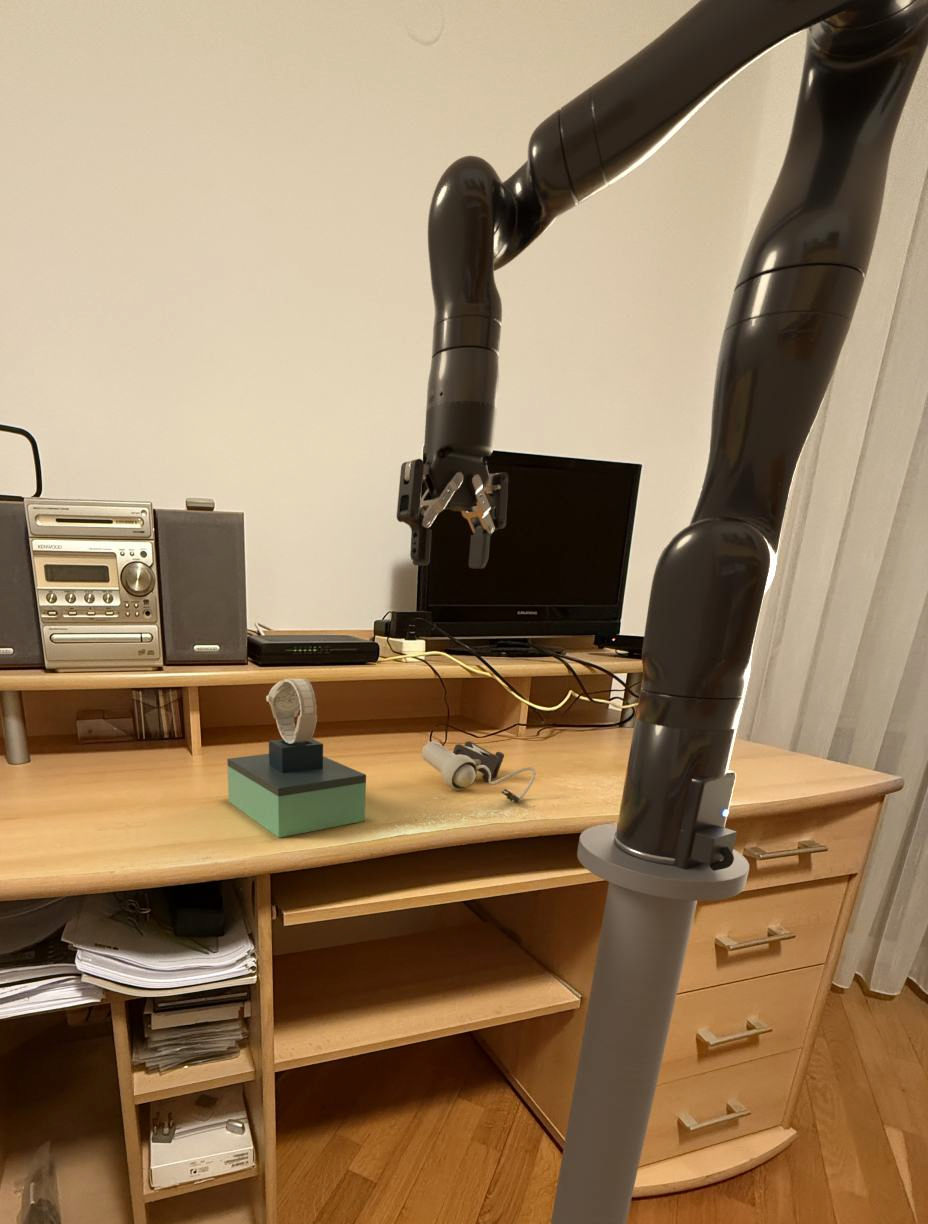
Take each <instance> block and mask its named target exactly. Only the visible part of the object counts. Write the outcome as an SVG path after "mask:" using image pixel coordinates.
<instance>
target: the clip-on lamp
mask: <svg viewBox="0 0 928 1224" xmlns="http://www.w3.org/2000/svg"><path fill="white" fill-rule="evenodd" d="M504 757H505V754H504V752H501V751H496V752H495V754H494V753H492V752H491V751H489V750H487V749H485V748H483V747H481V746H480V745H478V744H476V743H474V742H473V741H471V740H468V741H465V743H464V745H463V744H461V743H458V744H456V745H454V747H453V751H451V750H450V749H448V748H447V747H445V745H443V744H441V743H440V742H438V741H437V740H436V741H435V740H432V741H428V742H427V743H426V744H424V746H423V747H422V750H421V758H422V759H423V760H424V761H425V762H426V763H427V764H428V765H430V766H431V767H432V768H434V769H435V770H436V771H437V772H439V773H440V774H441V778H442V780H443V782H444V783H445V785H447V786H448V787H449V788H450V789H453V790H458V791H462V790H464V789H467V788H469V786H471V785H472V784H473V783H474V781H476V780H475V779H476V777H477V775H478V772H479V773H481V774H483V775H482V779H483V781H486V782H488V785H490V786H494V785H496V784H499V783H501V782H503V781H505V780H508V779H509V778H511V777H513V776H516V775H518V774H521V773H522V772H526V771H531V772H532V776H531V778H530V780H529V782H528V784H527V786H526V788H524V790H523V791H522V792H521V794H520V795H519V796H517V795H516V794H514V793H513V792H511V791H510V790H508V789H506V788H504V789H503V790H502V791H501V794H502V795H504V796H506V799H507V800H509V801H510V802H512V801H513V802H515V803H519V802H520V800H521V799H523V797H524V796H525V795H526V794H527V792H528V791H529V789H530V788H531V786H532V784H533V782H534V780H535V777H536V769H535V768H534V767H531V766H527V767H523V768H520V769H516V770H515V771H512V772H510V773H508V774H505V775H504V776H502V777H500V778H497V777H498V774H499V771H500V768H501V766H502V763H503V762H504V761H503V760H504ZM496 778H497V779H496ZM493 779H494V780H493ZM492 780H493V781H492Z"/></svg>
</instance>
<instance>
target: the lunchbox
mask: <svg viewBox="0 0 928 1224" xmlns="http://www.w3.org/2000/svg"><path fill="white" fill-rule="evenodd" d="M226 763H227V791H228V803H230V804H231V805H233V806H234V807H235V808H237V809H238V810H240V811H241V812H242V813H243V814H245V815H246V816H248V817H249V818H251V820H254V821H255V822H256V823H257V824H259V825H260V826H262V827H263V828H264V829H266V830H267V831H269V832H270V833H271V834H273V835H274V836H276V838H279V839H280V838H285V837H290V836H295V835H301V834H305V833H310V832H315V831H320V830H325V829H329V828H330V829H331V828H335V827H340V826H345V825H350V824H355V823H360V822H361V823H362V822H365V820H366V799H367V798H366V797H367V796H366V795H367V774H365V773H364V772H360V771H358V770H356V769H354V768H351V767H349V766H346V765H344V764H342V763H341V762H340V763H339V762H338V761H335V760H333V759H331V758H328V757H326V756H324V755H323V768H320V769H312V770H303V771H295V772H287V773H282V772H280V771H278V770H277V769H275V768H274V767H272V766H271V765H269V753H263V754H262V753H261V754H253V755H246V756H239V757H231V758H227V761H226Z"/></svg>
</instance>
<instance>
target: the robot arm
mask: <svg viewBox="0 0 928 1224" xmlns="http://www.w3.org/2000/svg"><path fill="white" fill-rule="evenodd" d="M805 30H806V39H805V51H804V58H803V65H802V72H801V80H800V84H799V90H798V95H797V101H796V107H795V111H794V117H793V122H792V127H791V132H790V136H789V140H788V144H787V149H786V152H785V155H784V159H783V162H782V166H781V168H780V171H779V173H778V176H777V178H776V181H775V184H774V186H773V188H772V191H771V193H770V195H769V198H768V199H767V202H766V204H765V206H764V208H763V210H762V213H761V215H760V217H759V220H758V222H757V225H756V226H755V229H754V232H753V233H752V237H751V238H750V242H749V244H748V247H747V249H746V252H745V255H744V258H743V261H742V264H741V266H740V270H739V273H738V276H737V279H736V282H735V286H734V289H733V295H732V297H731V300H730V305H729V310H728V313H727V318H726V321H725V325H724V329H723V332H722V337H721V341H720V345H719V352H718V357H717V363H716V370H715V376H714V377H715V378H714V386H713V387H714V388H713V398H712V409H711V421H710V422H711V425H710V438H709V451H708V457H707V458H708V459H707V465H706V470H705V474H704V478H703V482H702V486H701V488H700V492H699V495H698V499H697V502H696V505H695V508H694V511H693V514H692V517H691V520H690V522H689V524H688V526H686V527H684V528H683V529H682V530H680V531H678V533H676V534H675V535H674V536H673V537H672V538H671V539H670V540H669V542H668V543H667V544H666V545H665V547H664V548H663V550H662V551H661V553H660V556H659V557H658V559H657V563H656V564H655V569H654V573H653V577H652V582H651V587H650V593H649V598H648V599H649V600H648V606H647V612H646V613H647V614H646V620H645V627H644V635H643V642H642V648H641V649H642V650H641V664H642V677H641V682H640V683H641V685H640V690H639V696H638V702H637V708H636V712H635V713H636V714H635V718H634V725H633V731H632V737H631V741H630V749H629V754H628V760H627V765H626V772H625V778H624V783H623V789H622V796H621V800H620V801H621V802H620V806H619V814H618V818H617V819H618V820H617V822H616V823H617V831H616V833H615V836H614V844H615V846H616V847H617V848H618V849H620V850H621V851H623V852H625V853H627V854H629V855H631V856H633V857H636V858H639V859H642V860H645V861H649V862H654V863H658V864H664V865H671V866H675V867H678V868H681V869H689V868H692V867H695V866H698V865H701V864H704V863H706V864H710V868H711V869H712V870H714V871H715V870H720V869H725V868H728V867H730V866H731V865H732V863H733V861H734V856H733V853H732V852H733V849H734V848H735V843H736V839H737V836H738V831H736V830H733V829H731V828H730V829H729V828H726V822H727V819H728V815H729V813H730V810H729V809H730V804H731V801H732V796H733V794H734V793H733V792H734V787H735V784H736V779H737V773H736V772H735V771H732V770H729V767H730V763H731V759H732V754H733V749H734V746H735V741H736V737H737V736H736V735H737V731H738V727H739V722H740V718H741V714H742V711H743V710H742V709H743V704H744V700H745V696H746V692H747V688H748V683H749V679H750V676H751V675H750V674H751V665H752V656H753V649H754V643H755V639H756V634H757V629H758V625H759V619H760V617H761V611H762V607H763V602H764V597H765V594H766V593H767V591H768V589H769V588H770V586H771V584H772V582H773V580H774V577H775V573H776V566H777V561H778V553H779V546H780V541H781V535H782V529H783V524H784V519H785V515H786V510H787V505H788V501H789V496H790V492H791V488H792V484H793V479H794V476H795V472H796V470H797V466H798V462H799V461H800V458H801V454H802V452H803V450H804V448H805V445H806V443H807V440H808V438H809V435H810V433H811V431H812V428H813V426H814V424H815V422H816V419H817V417H818V414H819V411H820V410H821V407H822V403H823V402H824V399H825V396H826V394H827V391H828V389H829V386H830V384H831V381H832V378H833V376H834V373H835V370H836V367H837V365H838V361H839V358H840V356H841V353H842V350H843V347H844V344H845V341H846V338H847V336H848V333H849V331H850V328H851V326H852V325H851V324H852V321H853V319H854V315H855V312H856V308H857V306H858V302H859V299H860V296H861V292H862V290H863V286H864V283H865V279H866V277H867V273H868V270H869V266H870V262H871V259H872V254H873V250H874V246H875V242H876V237H877V233H878V229H879V224H880V219H881V213H882V208H883V203H884V197H885V189H886V183H887V177H888V170H889V163H890V158H891V151H892V148H893V144H894V140H895V137H896V133H897V131H898V130H897V129H898V126H899V123H900V120H901V117H902V114H903V111H904V108H905V106H906V103H907V100H908V99H909V96H910V92H911V90H912V88H913V85H914V82H915V79H916V77H917V74H918V72H919V70H920V69H919V68H920V66H921V64H922V62H923V60H924V56H925V54H926V51H927V49H928V0H699V1H698V2H697V3H696V4H695V5H693V6H692V7H691V8H690V9H689V10H688V11H686V13H684V14H683V15H682V16H681V17H679V19H677V20H676V21H675V22H674V23H672V24H671V25H670V26H669V27H668V28H667V29H665V30H664V31H663V32H662V33H661V34H659V36H657V37H656V38H655V39H653V41H651V42H650V43H648V44H646V46H644V47H643V48H642V49H641V50H639V51H638V52H637V53H635V54H634V55H633V56H631V57H629V58H628V59H627V60H626V61H624V62H623V63H622V64H621V65H619V66H618V67H617V68H615V69H614V70H612V71H611V72H609V73H608V74H607V75H605V76H603V77H602V78H601V79H600V80H598V81H596V82H595V83H594V84H592V85H591V86H590V87H588V88H587V89H585V90H584V91H583V92H581V93H579V94H578V95H577V96H576V97H574V98H573V99H571V100H570V101H569V102H567V103H565V104H564V105H563V106H562V107H560V109H557V110H556V111H554V112H552V113H551V114H550V115H549V116H548V117H547V118H545V119H544V120H543V121H542V122H541V123H539V125H537V127H535V129H534V130H533V132H532V133H531V135H530V137H529V141H528V146H527V160H526V161H525V162H524V163H523V164H522V165H521V166H520V167H519V168H518V169H517V170H516V171H515V172H514V173H513V174H511V176H509V177H508V178H507V179H506V180H504V181H502V179H501V178H500V176H499V174H498V173H497V170H495V168H494V167H493V166H492V164H491V163H489V162H488V161H486V160H485V159H484V158H482V157H480V156H476V155H465V156H462V157H460V158H458V159H455V161H453V162H452V163H451V164H450V165H449V166H447V168H446V169H445V170H444V171H443V173H442V175H441V176H440V178H439V180H438V182H437V183H436V186H435V188H434V191H433V194H432V197H431V201H430V205H429V210H428V218H427V251H428V261H429V262H428V263H429V272H430V273H429V274H430V283H431V284H430V285H431V292H432V297H433V303H434V304H433V307H434V318H433V319H434V320H433V328H432V342H431V343H432V345H431V361H430V370H429V375H428V381H427V389H426V390H427V391H426V408H425V425H424V426H425V427H424V442H423V443H424V444H423V454H424V456H425V457H426V461H425V463H424V460H423V459H422V458H416V459H412V460H409V461H405V462H402V464H401V467H400V473H399V474H400V475H399V486H398V497H397V506H396V507H397V508H396V520H397V521H398V522H400V523H404V524H406V525H408V527H409V528H410V531H411V535H410V551H409V554H410V559H411V560H412V564H413V566H418V567H419V566H429V564H430V562H431V547H432V546H431V545H432V533H433V532H432V531H433V529H431V526H432V524H433V523H434V521H435V520H436V518H437V516H438V515H439V514H440V513H442V512H443V511H444V510H451V511H452V512H460V513H461V516H462V517H463V519H466V520H467V522H468V524H469V527H470V529H471V531H472V533H473V534H471V535H470V541H469V555H468V567H469V569H484V568H485V567H486V565H487V563H488V562H489V561H488V560H489V557H490V556H489V554H490V545H491V544H490V543H491V536H492V534H493V532H495V531H498V530H499V529H504V528H505V527H506V525H507V513H508V512H507V510H508V496H509V495H508V493H509V474H508V472H506V471H503V472H496V473H489V470H488V460H489V458H490V456H492V453H493V451H494V443H495V431H496V420H497V409H498V398H499V388H500V387H499V385H500V384H499V383H500V369H499V362H500V361H499V360H500V359H499V358H500V345H501V333H502V322H503V303H502V299H501V295H500V292H499V290H498V287H497V284H496V280H495V271H498V270H499V269H502V268H503V267H505V266H506V265H508V264H509V263H511V262H512V261H514V259H516V258H517V257H518V256H520V255H521V254H522V253H523V252H524V251H526V249H527V248H529V246H530V245H532V244H533V243H534V242H535V241H536V240H538V238H540V236H542V235H543V234H544V233H545V232H546V231H547V230H548V229H549V228H550V227H551V226H552V225H553V224H554V223H555V222H556V221H557V220H558V219H559V218H560V217H561V216H562V215H563V214H565V213H567V212H568V211H569V210H572V209H574V208H575V207H577V206H579V205H580V204H583V203H584V202H586V201H587V200H589V199H591V198H593V196H595V195H597V194H599V193H601V192H602V191H603V190H605V189H607V188H608V187H610V186H611V185H613V184H614V183H616V182H618V181H619V180H621V179H623V178H624V177H625V176H627V175H628V174H631V173H632V172H633V171H634V170H635V169H636V168H638V167H639V166H641V165H642V164H643V163H644V162H645V161H647V160H648V159H649V158H651V157H652V156H653V155H654V154H655V153H656V152H657V151H658V150H660V149H661V148H662V147H663V146H664V145H665V144H666V143H667V142H668V141H670V139H671V138H672V137H673V136H674V135H675V134H676V133H677V132H678V131H679V130H680V129H681V128H682V127H683V126H684V125H685V124H686V123H688V121H689V120H690V119H691V118H692V117H694V115H695V114H696V113H697V112H698V111H699V110H700V109H701V108H702V107H703V106H704V105H705V104H706V103H707V102H708V101H709V100H710V99H711V98H713V96H714V95H715V94H716V93H718V92H719V90H721V89H722V88H723V87H724V86H726V84H728V83H729V82H730V81H731V80H732V79H733V78H735V77H736V76H738V74H739V73H741V72H742V71H743V70H745V69H746V68H747V67H749V66H750V65H751V64H752V63H754V62H755V61H756V60H758V59H759V58H761V57H763V55H765V54H766V53H768V52H769V51H771V50H773V49H774V48H775V47H777V46H778V45H780V44H782V43H784V42H786V41H787V40H789V39H790V38H792V37H794V36H797V34H800V33H802V32H803V31H805ZM424 483H425V485H426V488H427V489H426V490H425V492H424V494H423V495H422V490H423V489H422V488H423V484H424ZM495 511H496V512H495ZM721 860H722V861H721Z"/></svg>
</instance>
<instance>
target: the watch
mask: <svg viewBox="0 0 928 1224" xmlns="http://www.w3.org/2000/svg"><path fill="white" fill-rule="evenodd" d="M265 701H266V702H267V703H268V704H269V706H270V709H271V712H272V717H273V718H274V720H275V721H276V722H275V723H276V727H277V729H278V733H279V734H280V736H281V738H282V739H273V740H272V739H271V740H268V754H269V765H271V766H272V767H274V768H275V769H277V770H278V771H280V772H282V773H287V772H295V771H303V770H312V769H320V768H323V756H324V743H323V742H320V741H317V740H316V739H314V738H313V736H314V733H315V730H316V726H317V720H318V714H317V699H316V693H315V691H314V688H313V686H312V683H311V682H310V681H309V680H308V679H306V678H305V677H302V678H285V679H281V680H279V681H278V682H277V683H276V684H274V685H273V686H272V687H271V689H270V690H269V693H268V695H266V697H265ZM298 713H299V715H298ZM295 718H297V720H296V724H295Z"/></svg>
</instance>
